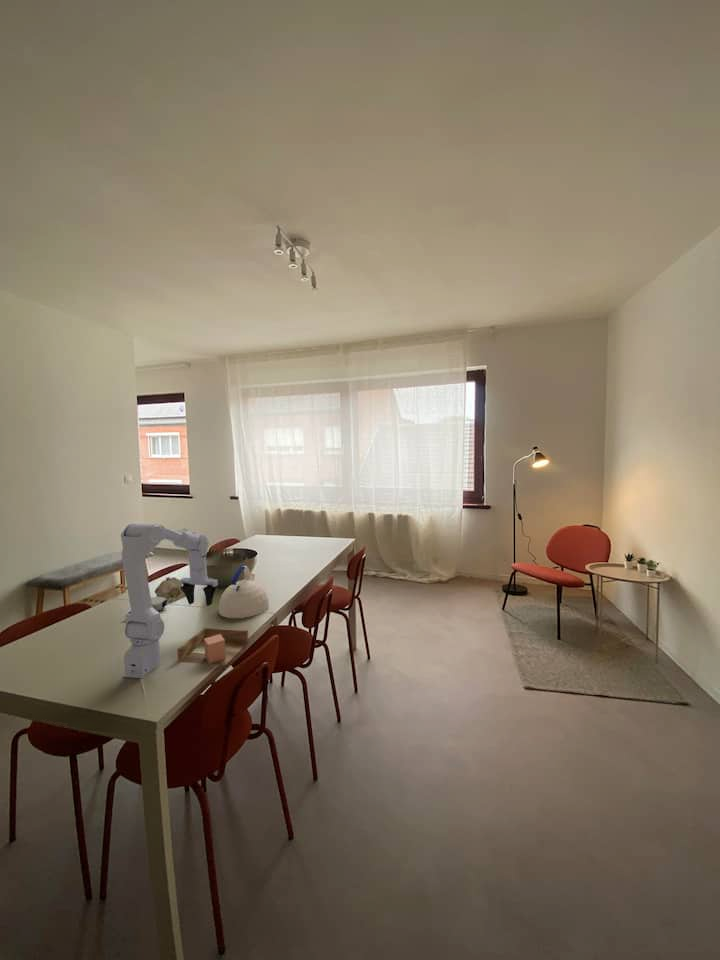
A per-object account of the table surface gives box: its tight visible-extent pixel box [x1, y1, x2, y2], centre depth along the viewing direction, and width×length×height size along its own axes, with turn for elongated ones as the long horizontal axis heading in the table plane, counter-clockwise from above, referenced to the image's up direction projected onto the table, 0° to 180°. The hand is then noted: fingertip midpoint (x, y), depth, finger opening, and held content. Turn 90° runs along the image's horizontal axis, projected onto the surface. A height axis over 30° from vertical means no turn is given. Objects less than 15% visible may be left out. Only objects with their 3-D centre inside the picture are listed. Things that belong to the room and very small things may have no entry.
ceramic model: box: [154, 576, 186, 604], centre depth 179 cm, size 14×11×10 cm
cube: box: [204, 634, 226, 665], centre depth 123 cm, size 5×5×6 cm
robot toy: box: [124, 596, 171, 618], centre depth 163 cm, size 12×4×15 cm
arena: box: [177, 627, 249, 666], centre depth 128 cm, size 15×16×5 cm
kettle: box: [218, 565, 270, 619], centre depth 164 cm, size 20×21×18 cm
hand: (200, 604), depth 144 cm, fingers open, 7 cm apart
